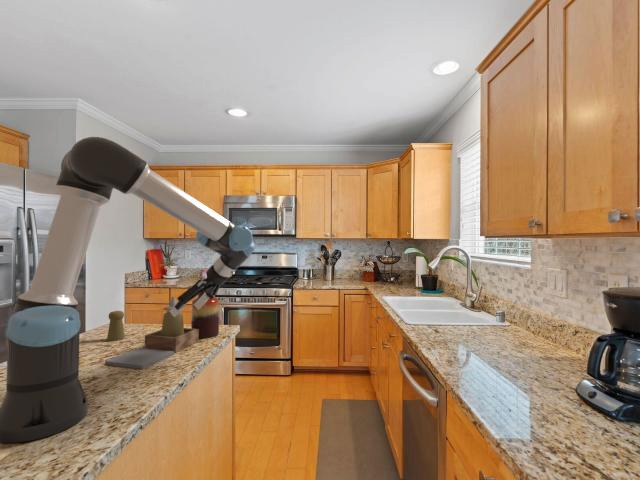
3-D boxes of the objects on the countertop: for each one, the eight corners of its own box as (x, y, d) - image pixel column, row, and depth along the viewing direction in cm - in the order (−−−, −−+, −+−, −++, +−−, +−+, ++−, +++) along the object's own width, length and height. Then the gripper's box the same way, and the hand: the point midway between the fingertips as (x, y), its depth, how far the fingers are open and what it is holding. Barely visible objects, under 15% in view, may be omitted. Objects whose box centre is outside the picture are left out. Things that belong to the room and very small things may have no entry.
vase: (186, 338, 131) (187, 287, 132) (197, 331, 142) (198, 284, 142) (213, 339, 131) (213, 287, 131) (222, 331, 142) (222, 284, 142)
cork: (110, 337, 132) (111, 309, 132) (127, 336, 133) (127, 309, 133) (103, 341, 126) (104, 312, 126) (121, 341, 127) (121, 312, 127)
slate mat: (142, 369, 99) (142, 365, 99) (105, 364, 102) (105, 361, 102) (174, 354, 112) (174, 351, 112) (140, 350, 116) (140, 347, 116)
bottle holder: (175, 352, 114) (176, 338, 114) (144, 349, 117) (144, 335, 117) (198, 342, 126) (198, 329, 126) (169, 339, 130) (170, 326, 130)
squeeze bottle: (175, 349, 117) (176, 299, 117) (155, 348, 119) (156, 298, 119) (188, 343, 125) (189, 295, 125) (169, 341, 127) (170, 295, 127)
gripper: (207, 282, 105) (167, 325, 109) (244, 275, 129) (210, 311, 133) (192, 265, 107) (154, 309, 110) (232, 261, 131) (199, 297, 135)
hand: (185, 310), depth 122 cm, fingers open, 13 cm apart
